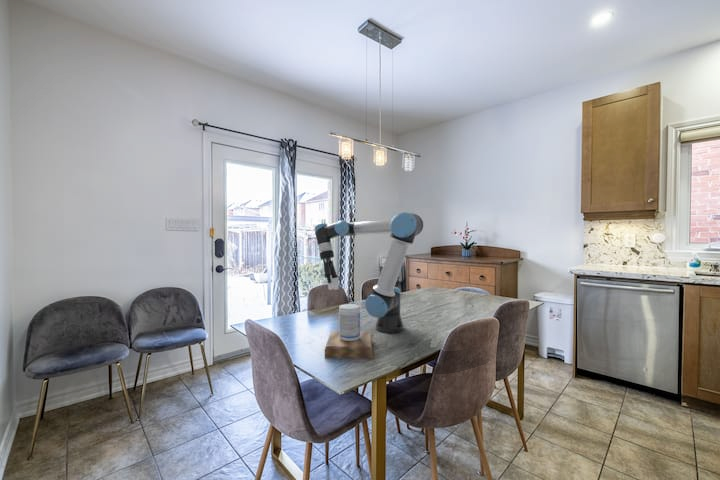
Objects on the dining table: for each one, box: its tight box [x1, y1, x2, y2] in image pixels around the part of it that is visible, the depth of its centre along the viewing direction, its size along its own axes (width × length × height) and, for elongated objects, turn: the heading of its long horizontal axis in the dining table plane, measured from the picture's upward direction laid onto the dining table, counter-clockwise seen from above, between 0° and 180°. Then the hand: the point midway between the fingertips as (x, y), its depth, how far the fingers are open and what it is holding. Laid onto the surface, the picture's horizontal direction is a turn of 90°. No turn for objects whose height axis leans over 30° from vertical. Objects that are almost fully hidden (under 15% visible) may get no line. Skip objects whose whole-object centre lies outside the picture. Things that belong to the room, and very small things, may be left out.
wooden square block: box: [324, 330, 373, 360], centre depth 139 cm, size 20×20×5 cm
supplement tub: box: [338, 303, 361, 341], centre depth 139 cm, size 10×10×15 cm
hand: (334, 289), depth 165 cm, fingers open, 13 cm apart
